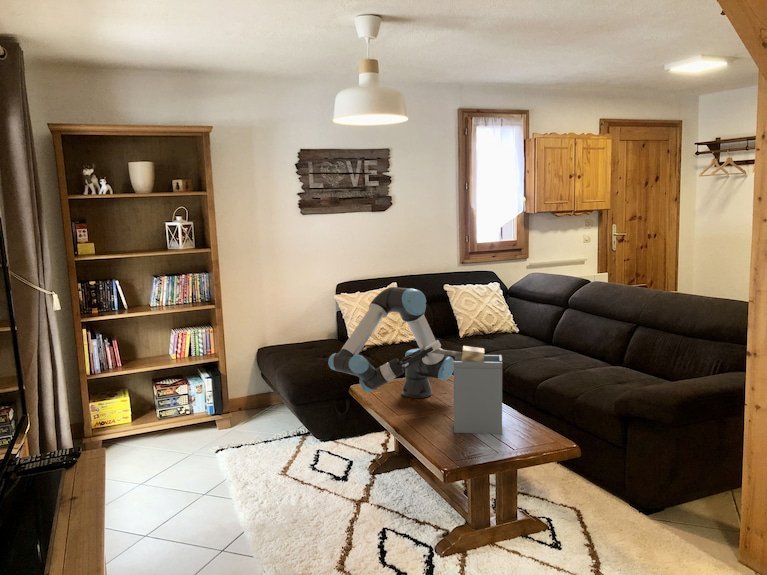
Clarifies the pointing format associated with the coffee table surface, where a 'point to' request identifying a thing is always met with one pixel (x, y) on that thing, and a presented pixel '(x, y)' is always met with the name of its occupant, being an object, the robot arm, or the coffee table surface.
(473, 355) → the maple block
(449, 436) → the coffee table surface
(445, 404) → the coffee table surface
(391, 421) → the coffee table surface
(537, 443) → the coffee table surface
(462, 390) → the shelf
